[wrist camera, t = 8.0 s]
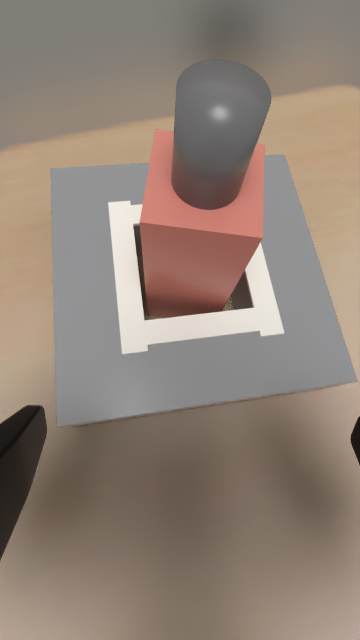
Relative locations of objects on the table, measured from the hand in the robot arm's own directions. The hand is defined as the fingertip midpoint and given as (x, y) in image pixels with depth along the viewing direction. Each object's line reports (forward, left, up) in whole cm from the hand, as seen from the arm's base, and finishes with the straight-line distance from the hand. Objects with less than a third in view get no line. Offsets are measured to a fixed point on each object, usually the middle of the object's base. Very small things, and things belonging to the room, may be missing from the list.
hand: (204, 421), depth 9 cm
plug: (+8, -1, -8) cm, 11 cm away
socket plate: (+8, -1, -8) cm, 11 cm away
